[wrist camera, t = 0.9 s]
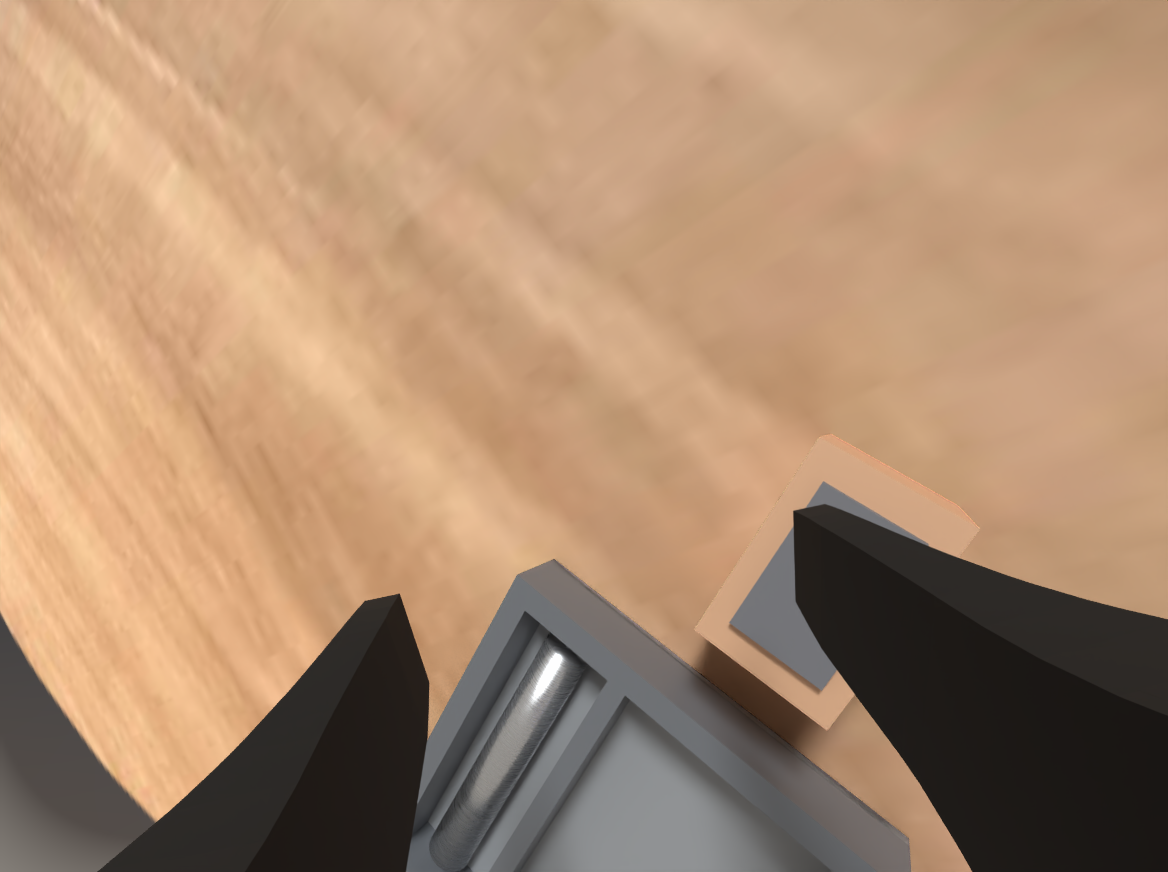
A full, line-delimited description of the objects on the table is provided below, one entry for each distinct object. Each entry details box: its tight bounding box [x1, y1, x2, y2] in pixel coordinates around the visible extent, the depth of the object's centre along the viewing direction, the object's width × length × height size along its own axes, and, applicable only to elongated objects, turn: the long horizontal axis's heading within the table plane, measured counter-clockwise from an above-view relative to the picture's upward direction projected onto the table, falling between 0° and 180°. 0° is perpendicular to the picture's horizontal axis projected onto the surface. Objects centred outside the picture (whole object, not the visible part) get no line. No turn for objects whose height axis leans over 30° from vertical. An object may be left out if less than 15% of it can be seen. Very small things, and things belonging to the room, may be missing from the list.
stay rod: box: [429, 632, 588, 872], centre depth 26 cm, size 12×2×2 cm, turn 150°
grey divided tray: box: [406, 559, 911, 872], centre depth 24 cm, size 16×16×3 cm
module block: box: [694, 434, 980, 731], centre depth 19 cm, size 4×7×5 cm, turn 150°
